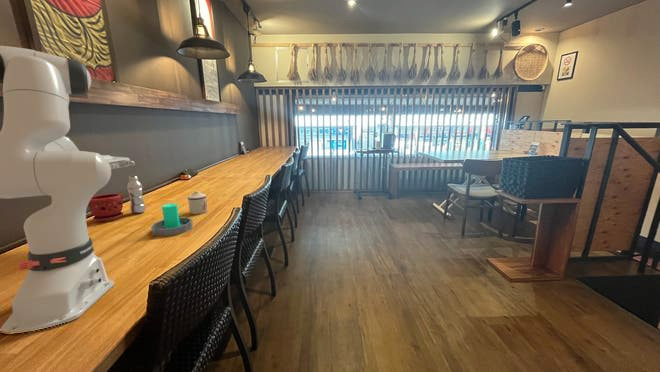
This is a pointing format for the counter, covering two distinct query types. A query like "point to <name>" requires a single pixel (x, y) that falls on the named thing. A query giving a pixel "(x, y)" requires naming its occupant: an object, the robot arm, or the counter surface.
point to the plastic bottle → (135, 195)
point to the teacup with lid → (197, 203)
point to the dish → (160, 230)
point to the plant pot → (106, 207)
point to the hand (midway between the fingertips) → (124, 164)
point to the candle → (171, 215)
